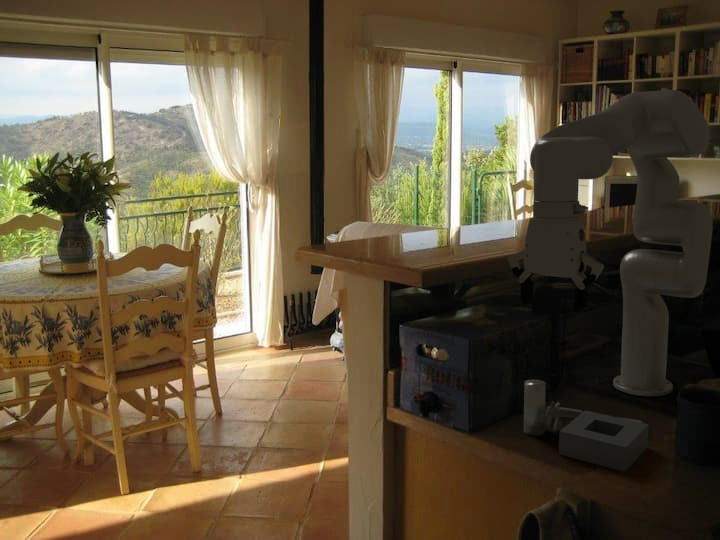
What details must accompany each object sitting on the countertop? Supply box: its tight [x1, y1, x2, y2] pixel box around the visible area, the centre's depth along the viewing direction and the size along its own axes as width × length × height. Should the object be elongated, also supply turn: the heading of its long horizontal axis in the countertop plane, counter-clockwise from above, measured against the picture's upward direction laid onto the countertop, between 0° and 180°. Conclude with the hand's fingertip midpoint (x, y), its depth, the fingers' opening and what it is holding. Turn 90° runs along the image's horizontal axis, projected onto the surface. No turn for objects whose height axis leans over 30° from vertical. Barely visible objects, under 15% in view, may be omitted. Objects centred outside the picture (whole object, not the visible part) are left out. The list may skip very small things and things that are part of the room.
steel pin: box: [523, 379, 547, 436], centre depth 141 cm, size 4×4×10 cm
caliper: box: [545, 400, 643, 433], centre depth 142 cm, size 20×1×6 cm, turn 92°
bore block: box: [558, 410, 650, 473], centre depth 132 cm, size 12×12×4 cm
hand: (552, 306), depth 128 cm, fingers open, 9 cm apart
